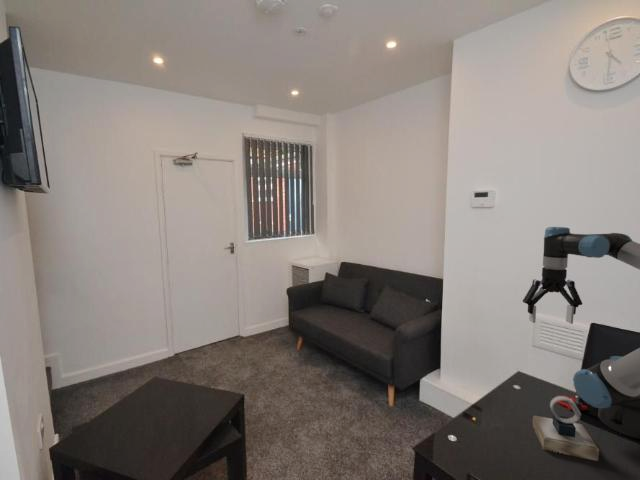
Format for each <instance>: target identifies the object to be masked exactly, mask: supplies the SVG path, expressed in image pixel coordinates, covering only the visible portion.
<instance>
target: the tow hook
mask: <svg viewBox="0 0 640 480" xmlns="http://www.w3.org/2000/svg"><path fill="white" fill-rule="evenodd" d="M575 391H576V390H575ZM558 396H566V397H568V398H569V399H570V398H571V399H572V400H573V401H574V403H575V404H576V406H577V407H578V409H579V411H580V412H581V411H588V410H589V409H588V406H587V405H583V403H582V402H581V401H582V398H581V397H580V396H579V395H578V393H577V391H576V393H575V397H571V396H567V395H564V394H563V395H559V394H558V395H556V396H555V397H558ZM556 404H559V405H560V406H563V407H564V408H565V407H566V408H567V410H568V411H573V410H572V408H571V407H570V405H569V403H566V402H564V401H559V402H557V403H556Z"/></svg>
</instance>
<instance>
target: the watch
mask: <svg viewBox="0 0 640 480" xmlns="http://www.w3.org/2000/svg"><path fill="white" fill-rule="evenodd" d="M557 396H558V395H557ZM566 396H567V395H564V396H558V397H556V396H554V397H553V398H552V399H551V400H550V402H549V408H550V410H551V412H552V414H553V415H552V419H553V425H554V427H555V429H556V431H557V432H558V434H560V435H565V436H570V437H575V430H576V428H575V426H574V425H573V423H578V421H580V419H581V416H582V413H581V411H579V409H578V407H577V406H576V404H575V403H574V401H573V400H572V399H571V398H570V399H569V398H568V397H566ZM559 401H562V402H564V401H565V402H567V404H569V405H570V407H571V408H572V410H571V411H573V413H574V415H573V416H572V417H568V416H563V415H558V414H557V413H556V410H555V404H558V403H557V402H559Z"/></svg>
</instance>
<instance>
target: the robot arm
mask: <svg viewBox="0 0 640 480" xmlns="http://www.w3.org/2000/svg"><path fill="white" fill-rule="evenodd" d="M570 230H571V229H570V228H569V227H565V226H548V227H546V228H545V231H544V237H543V252H542V253H543V256H542V257H543V258H542V266H543V267H542V269H541V271H542V272H541V278H542V279H541V280H539V279H538V280H537V279H532V285H530V287H529V289H528V291H527V293H526V294H525V296H524V298H523V300H522V302H523V303H524V304H526V305H527V313H528V314H529V319H528V320H529V322H531V323H533V324H535V323H536V318H537V317H536V315H537V306H536V304H537V303H538V302H539V301H540V300H541V299H542V298H543V297H544V296H545V295H546V294H548V293H560V294H561V295H562V297H563V298H564V300H565V301H566V302H567V303H568V304H566V317H565V322H567V323H569V324H571V325H573V323H574V315H576V311H577V308H579V306H582V305H583V302H582V299H581V297H580V295H579V292H578V291H577V288H576V284H575V281H574V280H571V279H567V274H568V273H567V268H568V262H569V261H568V260H569V259H568V257H569V255H573V256H574V255H575V256H581V257H586V258H596V259H600V258H603V257H604V256H609V257H612V258H613V259H616V260H618V261H620V262H622V263H625V264H627V265H629V266H630V267H633V268H635V269H637V270H640V243H639V242H636V241H634V240H633V239H632V238H631V237H630V236H629V235H627V234H625V233H618V232H610V233H593V234H592V233H590V234H589V233H588V234H587V233H586V234H583V233H571V232H570ZM539 287H540V288H539ZM565 287H567V289H568V291H569V292H568V291H567V290H566V288H565ZM569 293H570V294H569ZM572 381H573V387H574V389H575V391H577V393H578V395H579V396H580V397H581V400H583V401H584V402H585V403H586V404H588V405H590V406H591V407H593V408H597V409H598V412H597V413H598V414H597V415H598V417H597V418H598V419H599V421H600V422H602V423H603V424H604V425H605V426H606V427H608V428H609V429H612V430H613V431H616V432H618V433H619V434H622V435H623V436H628V437H630V438H634V439H638V440H640V347H639V348H637V349H634V350H633V351H631V352H629V353H628V354H626V355H623V356H620V355H619V356H618V355H613V356H610V357H609V359H605V360H602V361H599V362H598V363H596V364H594V365H593V366H591V367H589V368H586V369H585V368H582V369H579V370H578V371H576V372H575V373H574V374H573V377H572Z"/></svg>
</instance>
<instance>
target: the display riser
mask: <svg viewBox="0 0 640 480" xmlns="http://www.w3.org/2000/svg"><path fill="white" fill-rule="evenodd" d="M573 425H574V426H575V428H576V430H575V437H570V436H565V435H560V434H558V432H557V431H556V429H555V427H554V425H553V418H549V417H544V416H538V415H533V416H532V427H533V430H534V429H535V430H534V431H535V434H536V436H537V438H538V441H539V443H540V445H541V448H542V450H544V451H548V450H549V451H548V452H552V451H553V453H557V452H559V453H558V454H562V453H563V455H567V456H571V455H572V457H577V458H581V459H587V460H591V461H596V462H599V458H600V457H599V456H600V449H599V448H598V446H597V445H596V443H595V442H594V441H593V438H591V436H590V434H589V433H588V431H587V430H586V428H585V427H584V426H583V424H581V423H578V422H575V423H573Z"/></svg>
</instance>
